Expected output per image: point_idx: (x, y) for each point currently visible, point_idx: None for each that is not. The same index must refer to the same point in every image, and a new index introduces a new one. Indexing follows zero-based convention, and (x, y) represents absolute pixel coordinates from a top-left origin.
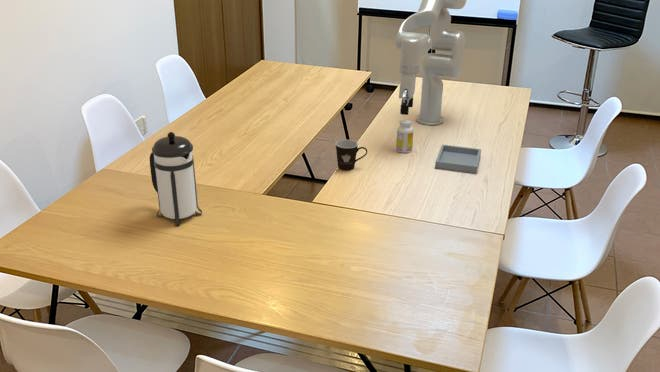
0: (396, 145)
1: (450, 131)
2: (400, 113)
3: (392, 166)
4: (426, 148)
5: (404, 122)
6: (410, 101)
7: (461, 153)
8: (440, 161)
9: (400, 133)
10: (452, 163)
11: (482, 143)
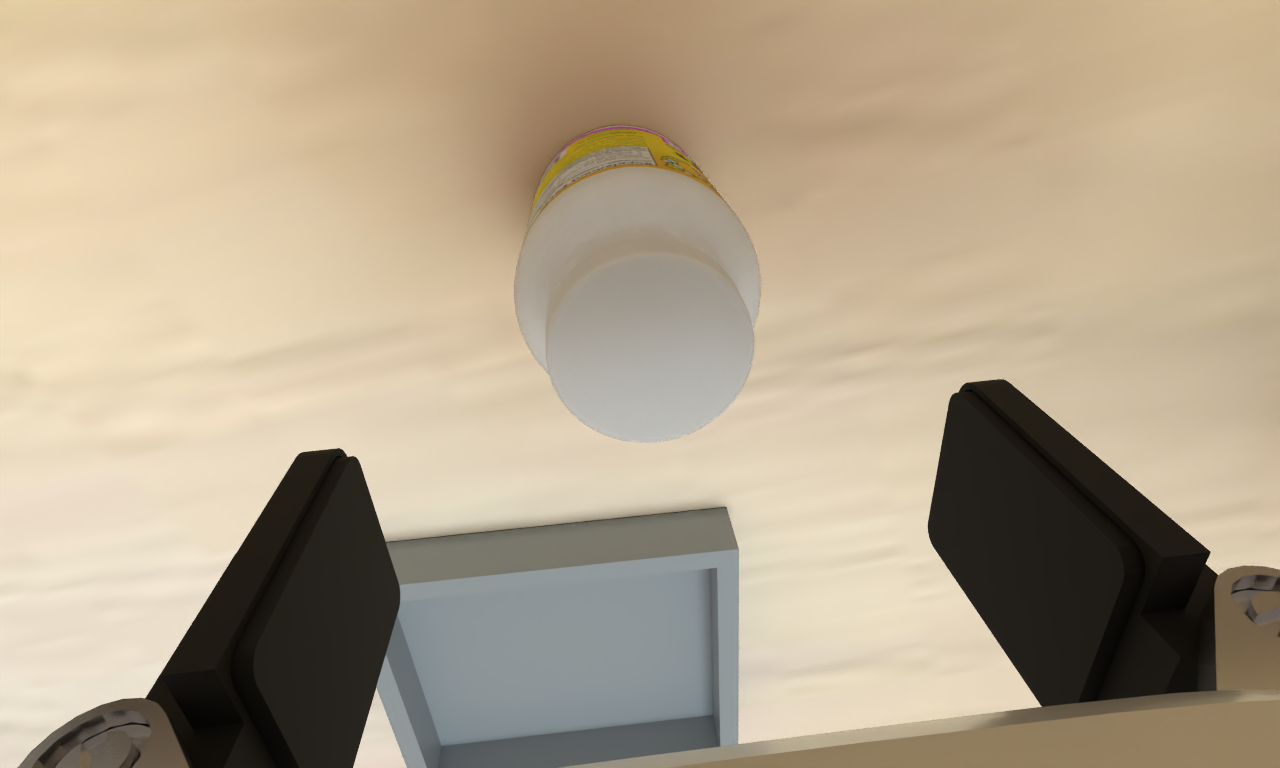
0: (574, 145)
1: (1181, 473)
2: (301, 460)
3: (152, 217)
4: (746, 394)
5: (586, 352)
6: (1014, 609)
7: (706, 638)
8: None
9: (520, 251)
10: (378, 687)
11: (951, 686)
